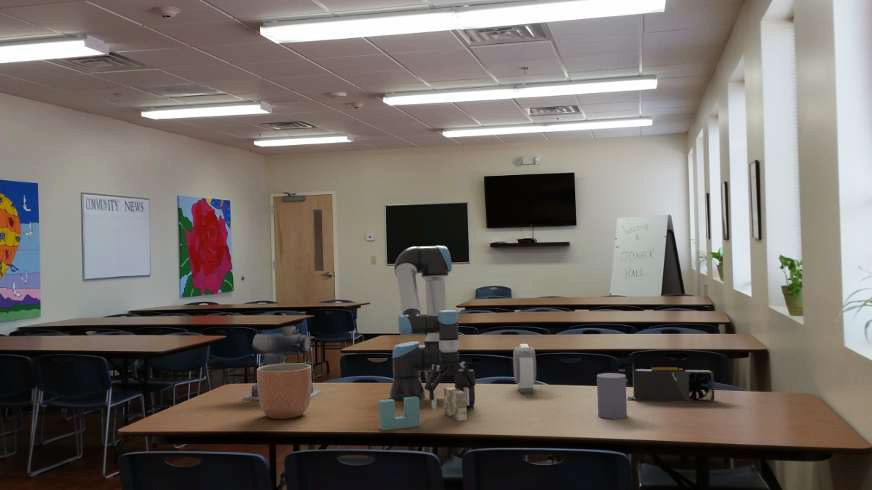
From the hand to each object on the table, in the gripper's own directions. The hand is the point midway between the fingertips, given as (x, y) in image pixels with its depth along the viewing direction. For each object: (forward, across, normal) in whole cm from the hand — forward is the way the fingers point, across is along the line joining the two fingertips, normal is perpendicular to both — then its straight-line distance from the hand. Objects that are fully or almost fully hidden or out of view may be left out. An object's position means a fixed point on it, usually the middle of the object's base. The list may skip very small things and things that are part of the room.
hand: (450, 406), depth 286 cm
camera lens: (+3, +10, +8) cm, 13 cm away
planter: (+3, -58, +29) cm, 65 cm away
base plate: (+3, -24, -10) cm, 26 cm away
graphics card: (+3, +87, -19) cm, 89 cm away
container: (+3, +51, -31) cm, 60 cm away
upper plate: (+3, 0, -4) cm, 5 cm away
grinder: (+3, -52, +71) cm, 88 cm away
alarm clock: (+3, +47, +29) cm, 55 cm away
